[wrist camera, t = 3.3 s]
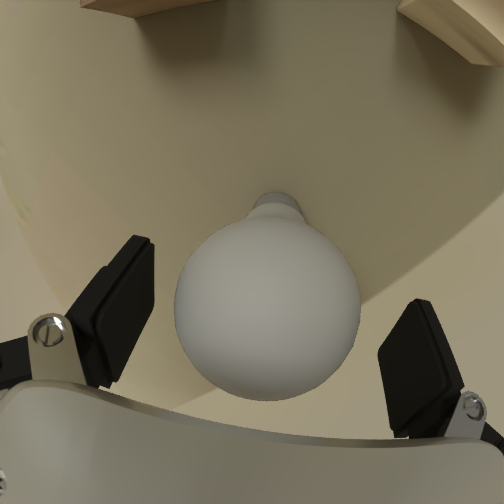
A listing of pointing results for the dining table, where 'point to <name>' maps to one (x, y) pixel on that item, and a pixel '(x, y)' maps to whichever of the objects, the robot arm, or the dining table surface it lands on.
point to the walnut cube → (135, 6)
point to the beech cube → (463, 26)
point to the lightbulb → (267, 304)
